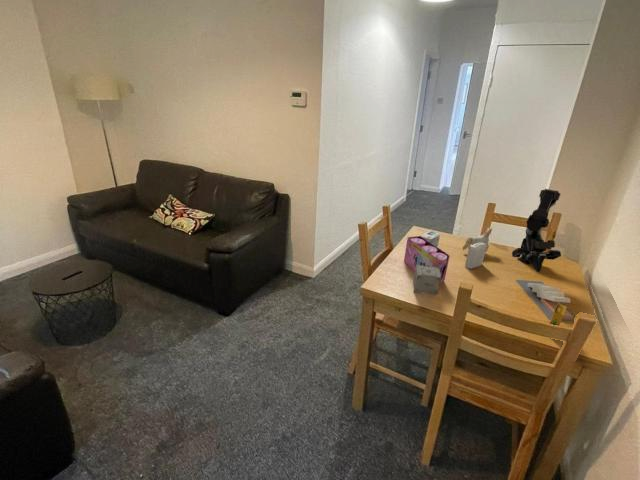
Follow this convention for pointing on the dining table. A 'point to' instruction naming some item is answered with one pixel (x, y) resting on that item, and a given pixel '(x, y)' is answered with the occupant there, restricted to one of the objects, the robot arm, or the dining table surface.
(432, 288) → the grey cardboard box
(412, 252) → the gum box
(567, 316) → the domino
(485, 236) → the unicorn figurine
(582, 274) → the dining table surface
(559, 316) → the crayon box
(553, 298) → the domino
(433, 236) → the light bulb box
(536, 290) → the domino
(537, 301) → the mat
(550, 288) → the domino
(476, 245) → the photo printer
